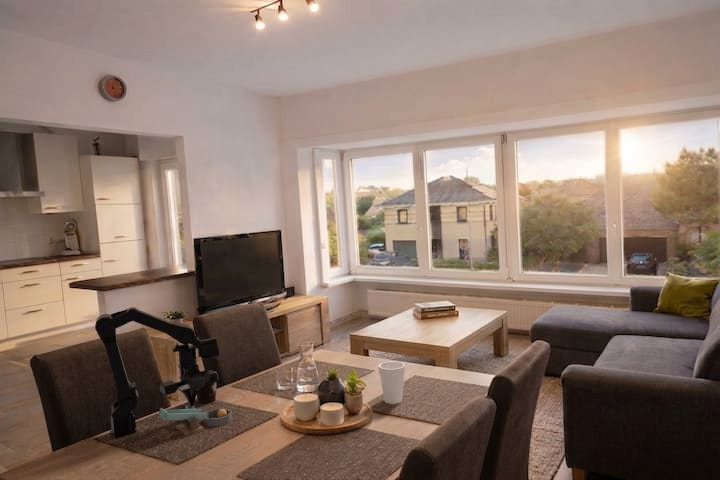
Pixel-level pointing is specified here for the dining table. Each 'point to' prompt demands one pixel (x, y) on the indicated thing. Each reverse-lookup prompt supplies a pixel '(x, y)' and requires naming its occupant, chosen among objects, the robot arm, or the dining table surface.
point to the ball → (221, 413)
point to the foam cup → (392, 381)
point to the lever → (182, 413)
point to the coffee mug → (207, 393)
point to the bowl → (214, 420)
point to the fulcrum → (183, 429)
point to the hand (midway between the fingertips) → (191, 406)
